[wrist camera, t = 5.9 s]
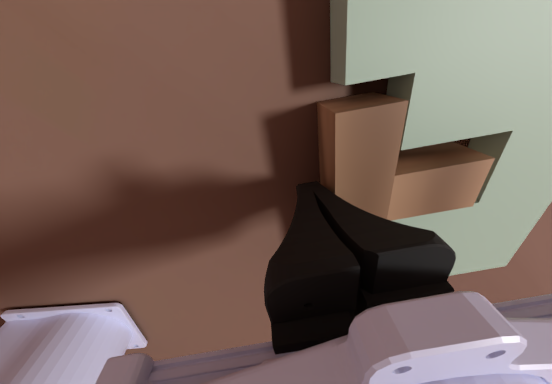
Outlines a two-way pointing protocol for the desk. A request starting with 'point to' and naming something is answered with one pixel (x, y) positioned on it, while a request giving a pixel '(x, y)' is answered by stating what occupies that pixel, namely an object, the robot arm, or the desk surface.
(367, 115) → the t block
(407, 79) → the slot board
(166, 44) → the desk surface
